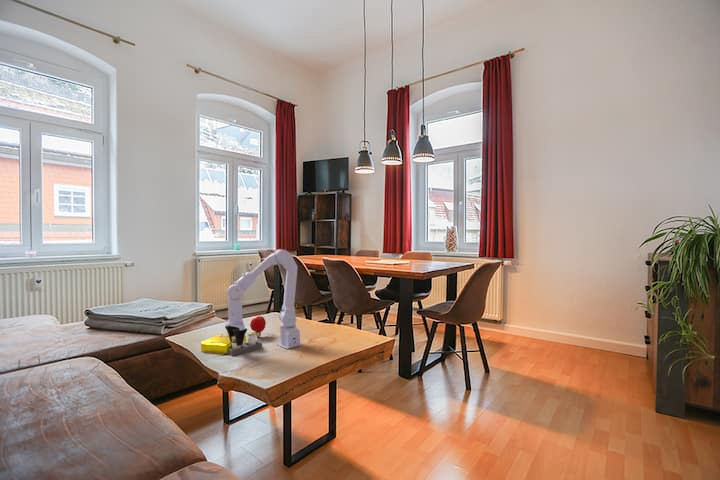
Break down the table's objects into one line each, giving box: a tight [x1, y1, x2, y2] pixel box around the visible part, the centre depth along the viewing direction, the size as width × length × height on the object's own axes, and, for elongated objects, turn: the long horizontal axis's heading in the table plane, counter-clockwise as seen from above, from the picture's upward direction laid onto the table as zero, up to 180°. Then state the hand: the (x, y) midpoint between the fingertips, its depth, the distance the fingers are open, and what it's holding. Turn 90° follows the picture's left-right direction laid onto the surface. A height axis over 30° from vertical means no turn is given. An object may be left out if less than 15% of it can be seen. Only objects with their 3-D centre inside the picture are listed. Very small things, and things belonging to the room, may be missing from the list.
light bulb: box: [249, 315, 267, 338], centre depth 177 cm, size 9×7×10 cm
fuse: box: [246, 331, 257, 346], centre depth 160 cm, size 4×4×7 cm
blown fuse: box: [232, 336, 241, 350], centre depth 156 cm, size 4×4×7 cm
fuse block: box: [227, 339, 263, 357], centre depth 158 cm, size 6×14×2 cm, turn 131°
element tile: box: [200, 333, 247, 355], centre depth 163 cm, size 15×15×5 cm
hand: (236, 343), depth 155 cm, fingers open, 7 cm apart
